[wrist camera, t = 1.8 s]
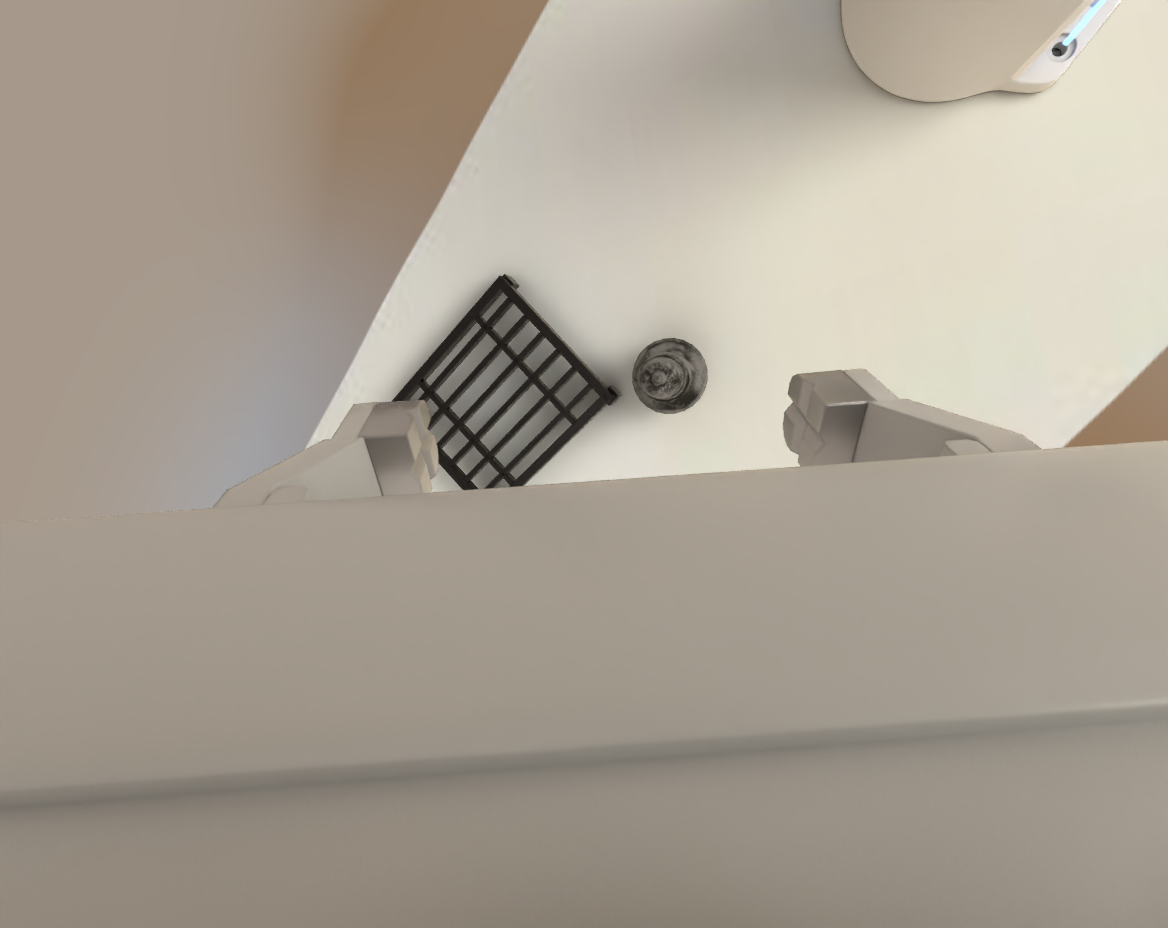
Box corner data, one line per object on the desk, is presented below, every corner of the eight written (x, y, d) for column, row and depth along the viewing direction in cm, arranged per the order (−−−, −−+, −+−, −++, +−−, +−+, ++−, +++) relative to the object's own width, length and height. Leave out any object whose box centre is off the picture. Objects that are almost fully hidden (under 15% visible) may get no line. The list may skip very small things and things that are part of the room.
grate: (510, 276, 49) (499, 271, 47) (622, 395, 48) (617, 397, 46) (399, 404, 54) (383, 406, 51) (499, 514, 53) (488, 521, 51)
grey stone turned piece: (653, 330, 47) (630, 318, 35) (719, 354, 46) (719, 350, 34) (628, 396, 48) (599, 405, 37) (692, 420, 47) (683, 438, 36)
